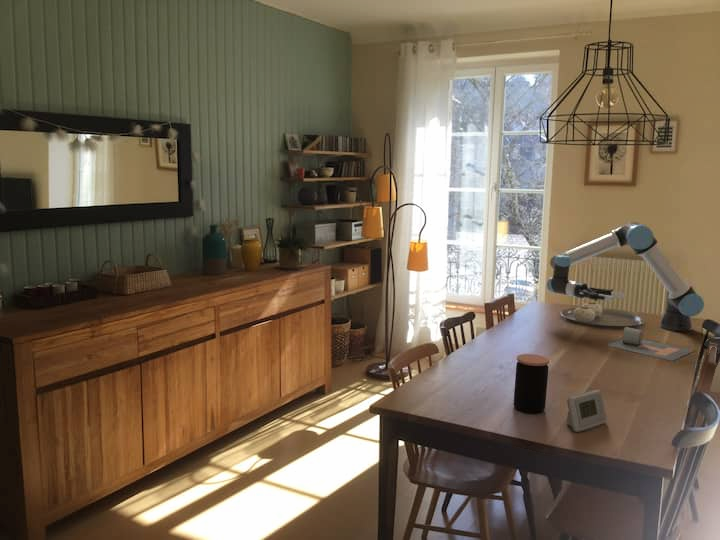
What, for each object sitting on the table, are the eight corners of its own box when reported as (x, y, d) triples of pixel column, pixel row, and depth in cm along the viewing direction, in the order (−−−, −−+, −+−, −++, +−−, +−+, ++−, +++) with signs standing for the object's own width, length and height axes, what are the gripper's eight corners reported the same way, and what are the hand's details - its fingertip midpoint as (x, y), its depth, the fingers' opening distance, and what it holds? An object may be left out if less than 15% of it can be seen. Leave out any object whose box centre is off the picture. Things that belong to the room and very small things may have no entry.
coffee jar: (550, 408, 227) (554, 358, 224) (535, 417, 219) (540, 365, 216) (522, 400, 234) (526, 351, 231) (507, 408, 226) (511, 358, 223)
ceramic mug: (639, 347, 306) (641, 331, 305) (621, 344, 310) (623, 328, 309) (643, 342, 315) (645, 326, 314) (625, 339, 319) (626, 324, 318)
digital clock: (574, 434, 207) (577, 402, 205) (555, 423, 215) (558, 392, 213) (614, 427, 213) (617, 396, 211) (594, 417, 221) (597, 386, 219)
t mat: (629, 337, 324) (629, 336, 324) (693, 351, 303) (693, 351, 303) (606, 345, 308) (606, 345, 308) (672, 361, 286) (672, 360, 286)
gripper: (588, 294, 339) (628, 302, 324) (563, 299, 322) (605, 308, 307) (589, 279, 338) (630, 287, 323) (565, 284, 321) (607, 292, 306)
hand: (618, 297), depth 315 cm, fingers open, 13 cm apart
